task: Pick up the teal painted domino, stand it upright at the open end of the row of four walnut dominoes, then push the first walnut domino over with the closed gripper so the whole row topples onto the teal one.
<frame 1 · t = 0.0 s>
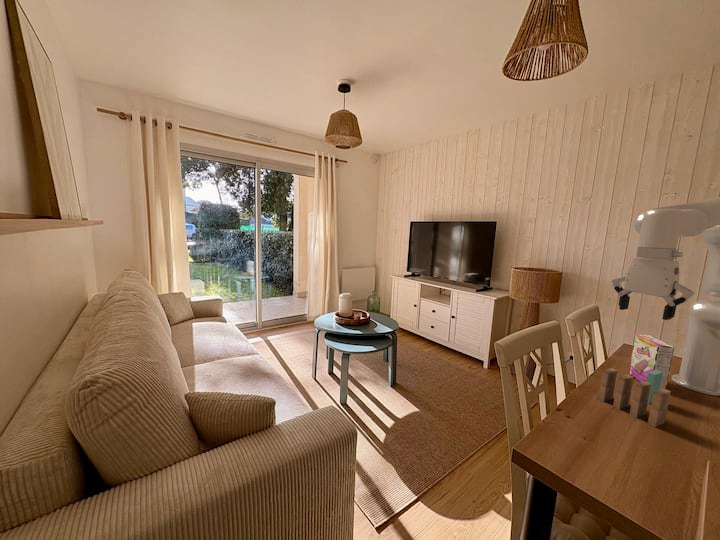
hand: (644, 314, 82), 31 cm above the table, tool pointing down, fingers open, 9 cm apart
domino 2: (620, 406, 90), on the table
domino 3: (637, 414, 86), on the table
teal domino: (649, 400, 94), on the table
domino 4: (655, 423, 83), on the table
domino 1: (605, 398, 94), on the table
candy bar box: (645, 382, 105), on the table
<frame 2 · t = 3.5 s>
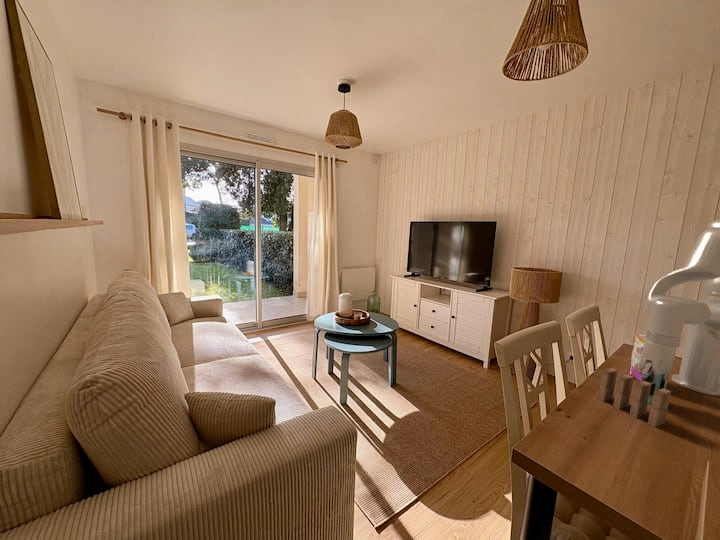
hand: (651, 391, 93), 3 cm above the table, tool pointing down, fingers closed on teal domino, 4 cm apart
teal domino: (649, 400, 94), on the table, touching gripper
everything else where it was.
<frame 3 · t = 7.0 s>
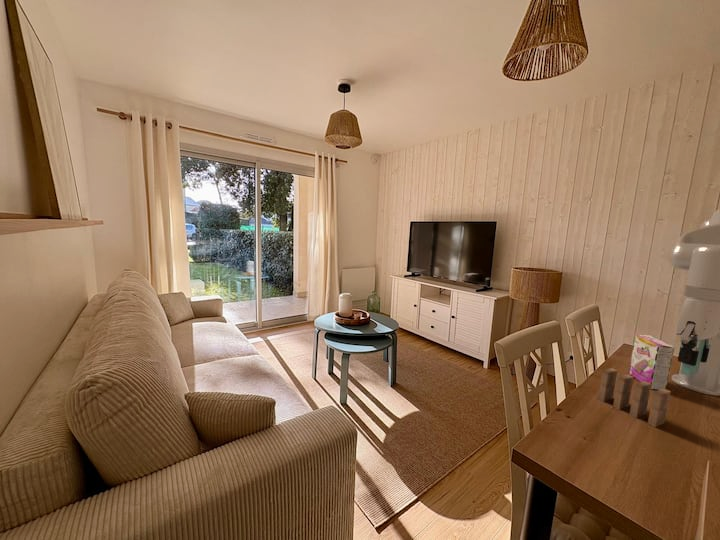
hand: (691, 361, 75), 21 cm above the table, tool pointing down, fingers closed on teal domino, 4 cm apart
teal domino: (689, 373, 76), point 18 cm above the table, touching gripper
everything else where it was.
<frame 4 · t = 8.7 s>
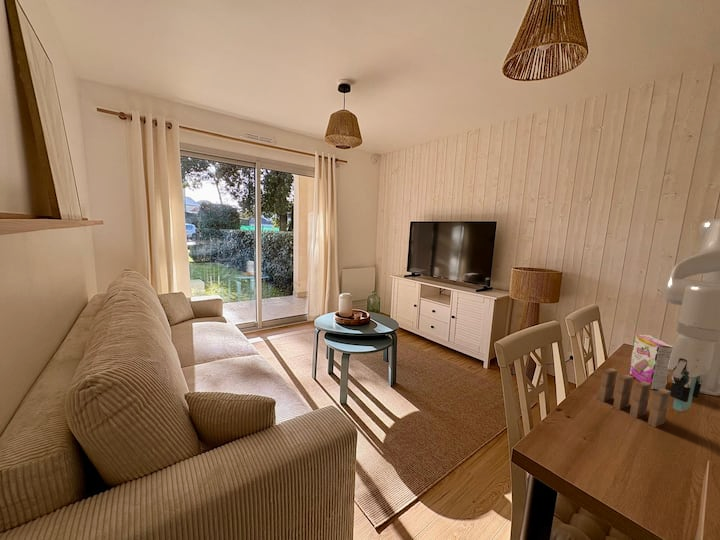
hand: (684, 396, 77), 11 cm above the table, tool pointing down, fingers closed on teal domino, 4 cm apart
teal domino: (681, 408, 77), point 8 cm above the table, touching gripper
everything else where it was.
when the fingers open (4 cm above the table, at t = 10.4 s): teal domino stays where it is, on the table.
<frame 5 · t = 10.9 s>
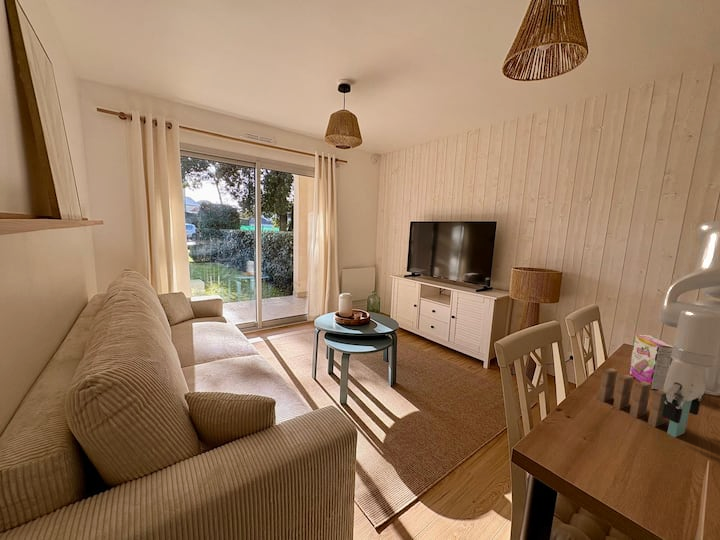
hand: (679, 415, 78), 5 cm above the table, tool pointing down, fingers open, 9 cm apart
teal domino: (675, 433, 79), on the table
everything else where it was.
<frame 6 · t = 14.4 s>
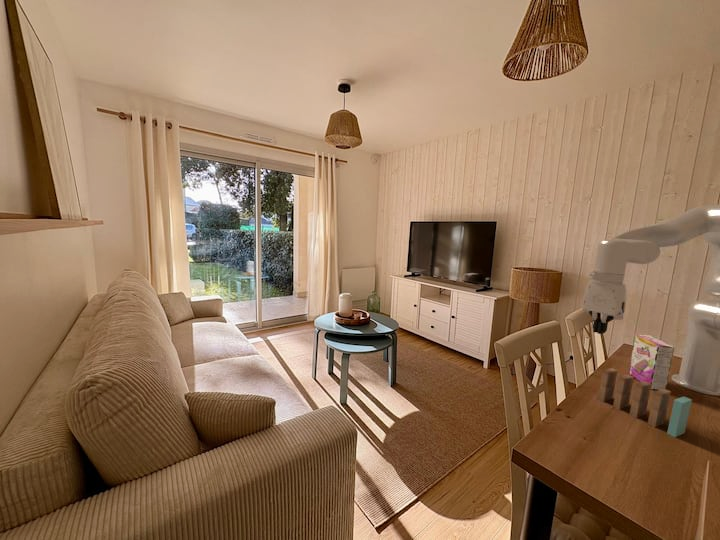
hand: (599, 332, 95), 21 cm above the table, tool pointing down, fingers closed
nothing on the table moved.
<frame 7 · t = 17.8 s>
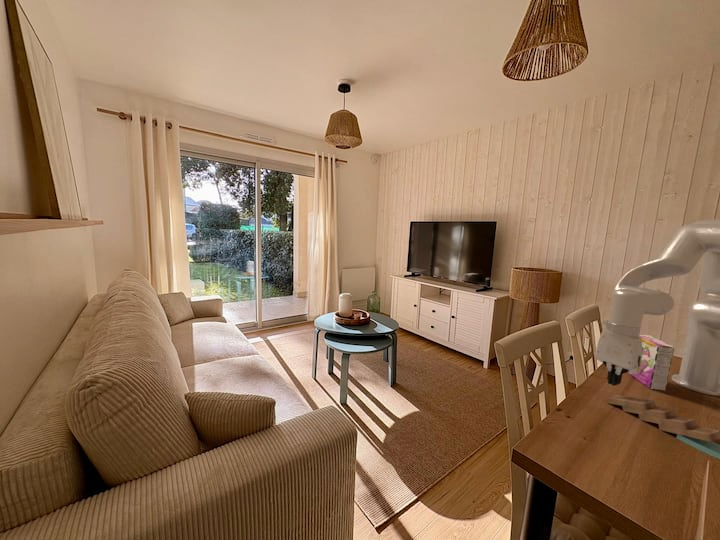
hand: (613, 383, 92), 6 cm above the table, tool pointing down, fingers closed
domino 2: (627, 406, 89), point 1 cm above the table, tilted 68°, touching domino 1, domino 3
domino 3: (644, 415, 85), point 1 cm above the table, tilted 68°, touching domino 2, domino 4
teal domino: (681, 434, 78), on the table, tilted 90°, touching domino 4
domino 4: (664, 424, 81), point 1 cm above the table, tilted 69°, touching domino 3, teal domino
domino 1: (611, 399, 93), point 1 cm above the table, tilted 68°, touching domino 2
everything else where it was.
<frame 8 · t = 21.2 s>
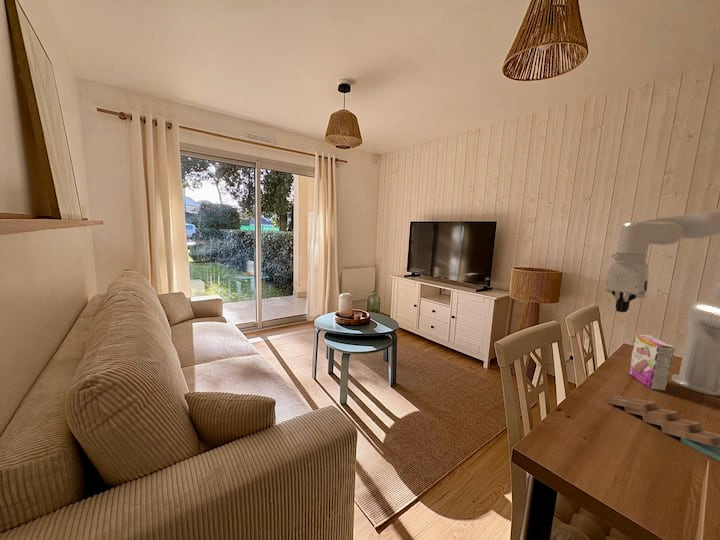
hand: (621, 311, 99), 27 cm above the table, tool pointing down, fingers closed
domino 2: (630, 407, 88), point 1 cm above the table, tilted 69°, touching domino 1, domino 3
domino 3: (648, 417, 84), point 1 cm above the table, tilted 69°, touching domino 2, domino 4
teal domino: (686, 437, 76), on the table, tilted 90°, touching domino 4
domino 4: (668, 427, 80), point 1 cm above the table, tilted 69°, touching domino 3, teal domino
domino 1: (612, 399, 92), point 1 cm above the table, tilted 69°, touching domino 2
everything else where it was.
at the end: teal domino tilted 90°; domino 1 tilted 69°; the gripper is holding nothing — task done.
